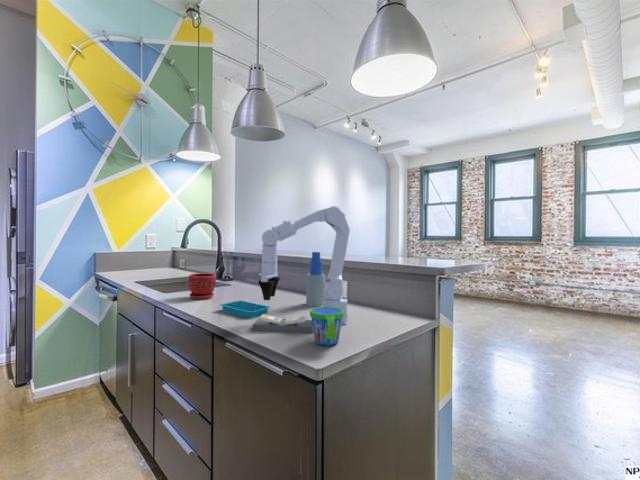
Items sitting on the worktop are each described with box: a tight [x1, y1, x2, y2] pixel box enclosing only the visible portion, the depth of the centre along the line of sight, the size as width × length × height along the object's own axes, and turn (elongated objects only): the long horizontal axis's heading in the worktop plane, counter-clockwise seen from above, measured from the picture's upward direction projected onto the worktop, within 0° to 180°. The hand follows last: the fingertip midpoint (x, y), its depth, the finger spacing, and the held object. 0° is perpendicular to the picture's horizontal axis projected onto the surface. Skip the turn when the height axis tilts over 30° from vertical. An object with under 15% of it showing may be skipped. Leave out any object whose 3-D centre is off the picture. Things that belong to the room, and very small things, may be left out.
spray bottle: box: [305, 251, 326, 308], centre depth 150 cm, size 9×9×25 cm
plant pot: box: [188, 272, 217, 300], centre depth 161 cm, size 13×13×12 cm
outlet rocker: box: [259, 314, 283, 324], centre depth 111 cm, size 7×4×1 cm, turn 84°
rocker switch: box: [285, 315, 308, 325], centre depth 110 cm, size 7×4×1 cm, turn 83°
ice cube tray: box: [219, 300, 271, 319], centre depth 134 cm, size 12×20×3 cm, turn 53°
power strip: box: [251, 317, 313, 334], centre depth 113 cm, size 21×8×3 cm, turn 84°
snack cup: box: [309, 306, 344, 347], centre depth 99 cm, size 16×10×10 cm
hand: (269, 298), depth 118 cm, fingers open, 6 cm apart
